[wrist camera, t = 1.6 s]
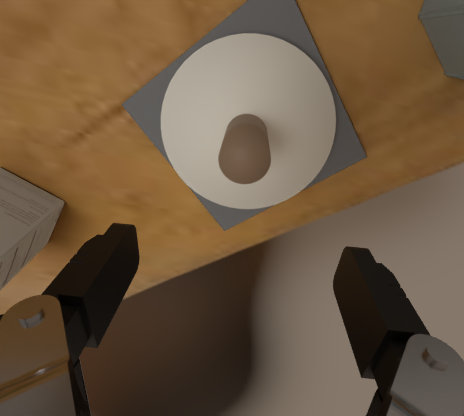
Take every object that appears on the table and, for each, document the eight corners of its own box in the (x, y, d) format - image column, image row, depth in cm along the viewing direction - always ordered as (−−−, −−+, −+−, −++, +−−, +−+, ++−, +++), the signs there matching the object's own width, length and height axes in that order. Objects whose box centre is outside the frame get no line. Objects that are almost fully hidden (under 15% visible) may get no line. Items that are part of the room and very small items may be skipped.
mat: (123, 103, 25) (121, 104, 25) (281, -27, 20) (282, -28, 20) (224, 228, 32) (224, 230, 31) (365, 155, 26) (366, 156, 26)
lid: (159, 25, 22) (121, 20, 15) (354, 41, 21) (395, 42, 15) (168, 196, 29) (145, 237, 23) (311, 209, 29) (327, 255, 23)
